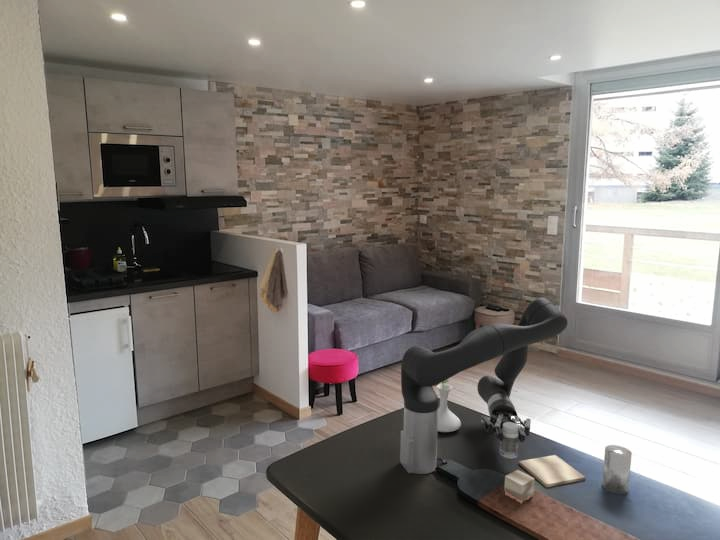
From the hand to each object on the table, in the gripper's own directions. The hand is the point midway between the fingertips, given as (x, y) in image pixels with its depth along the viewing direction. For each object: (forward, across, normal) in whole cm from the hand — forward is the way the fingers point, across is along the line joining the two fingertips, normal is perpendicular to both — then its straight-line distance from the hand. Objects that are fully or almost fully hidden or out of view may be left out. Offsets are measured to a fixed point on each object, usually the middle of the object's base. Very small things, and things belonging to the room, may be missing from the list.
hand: (511, 438), depth 134 cm
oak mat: (-4, -12, -11) cm, 16 cm away
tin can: (+2, -26, -10) cm, 28 cm away
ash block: (+9, -1, -11) cm, 14 cm away
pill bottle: (-3, 0, -6) cm, 7 cm away
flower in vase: (-26, +17, -12) cm, 33 cm away
